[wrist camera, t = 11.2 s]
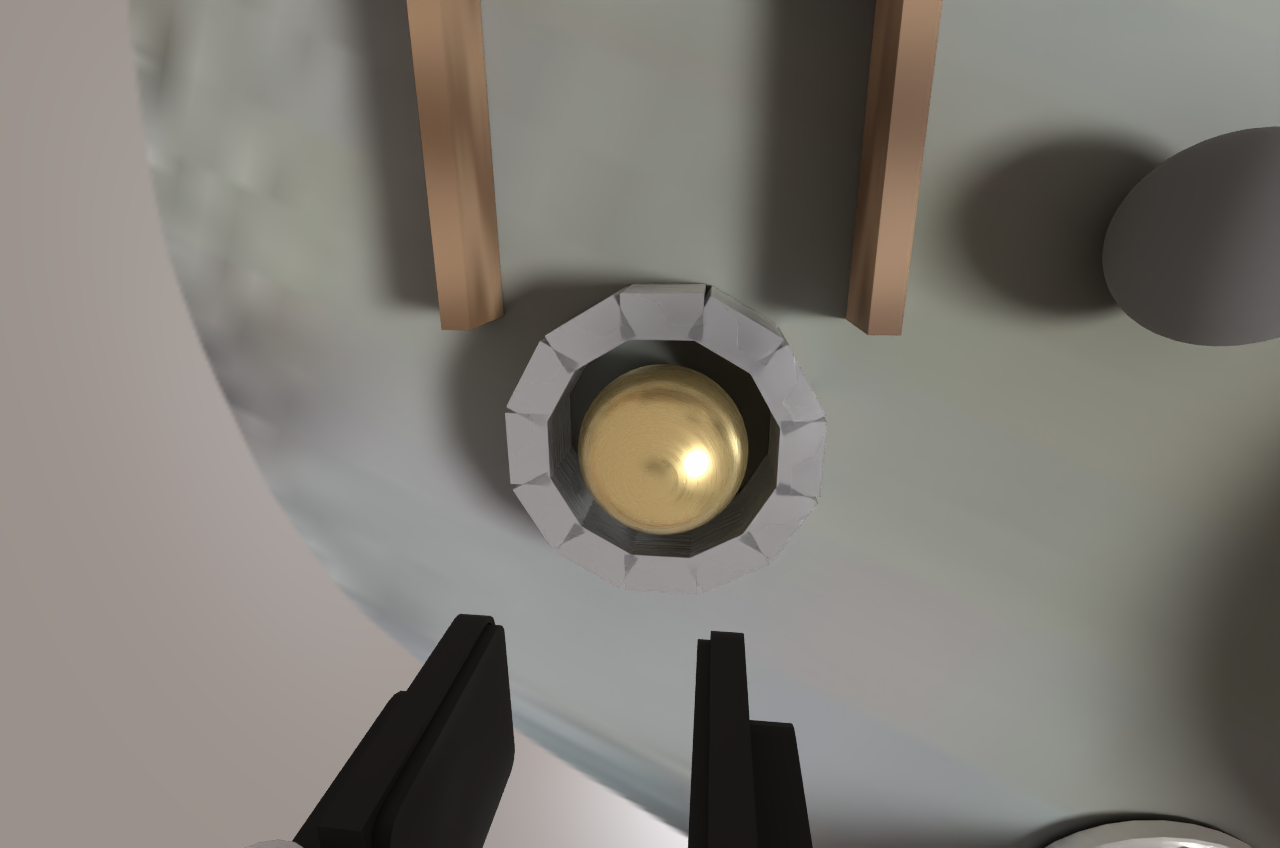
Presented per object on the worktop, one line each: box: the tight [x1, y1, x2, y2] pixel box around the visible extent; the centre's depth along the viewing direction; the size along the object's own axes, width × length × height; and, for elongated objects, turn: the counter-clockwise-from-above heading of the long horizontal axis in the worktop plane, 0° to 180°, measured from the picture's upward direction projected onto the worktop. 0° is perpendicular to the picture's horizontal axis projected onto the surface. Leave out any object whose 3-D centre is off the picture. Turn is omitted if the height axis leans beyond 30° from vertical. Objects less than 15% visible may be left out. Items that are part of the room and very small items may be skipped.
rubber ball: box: [1102, 127, 1280, 346], centre depth 18 cm, size 6×6×6 cm
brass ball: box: [578, 364, 748, 535], centre depth 22 cm, size 6×6×6 cm
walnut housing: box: [406, 0, 942, 335], centre depth 18 cm, size 14×15×6 cm
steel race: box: [505, 284, 827, 594], centre depth 23 cm, size 11×11×4 cm
